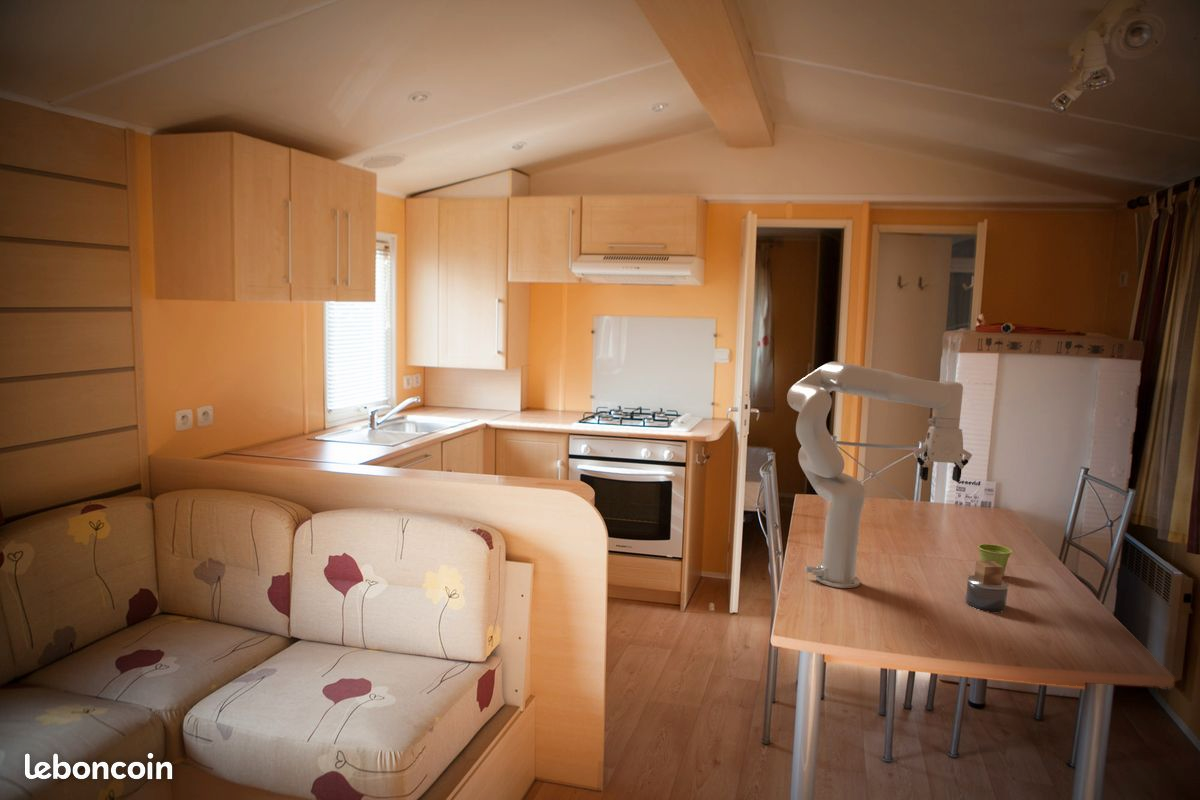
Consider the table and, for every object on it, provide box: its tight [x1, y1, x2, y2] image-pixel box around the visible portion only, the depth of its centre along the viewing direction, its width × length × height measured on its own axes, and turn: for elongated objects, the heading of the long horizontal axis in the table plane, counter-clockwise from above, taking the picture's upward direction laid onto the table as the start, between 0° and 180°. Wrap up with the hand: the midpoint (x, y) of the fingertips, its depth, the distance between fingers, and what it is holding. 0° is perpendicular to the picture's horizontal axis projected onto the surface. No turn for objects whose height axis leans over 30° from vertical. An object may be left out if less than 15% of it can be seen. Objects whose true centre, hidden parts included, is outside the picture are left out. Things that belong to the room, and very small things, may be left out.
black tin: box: [965, 574, 1009, 613], centre depth 223 cm, size 10×10×7 cm
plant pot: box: [977, 543, 1013, 578], centre depth 249 cm, size 9×9×9 cm
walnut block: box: [974, 560, 1003, 585], centre depth 222 cm, size 5×5×5 cm
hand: (939, 480), depth 240 cm, fingers open, 9 cm apart
